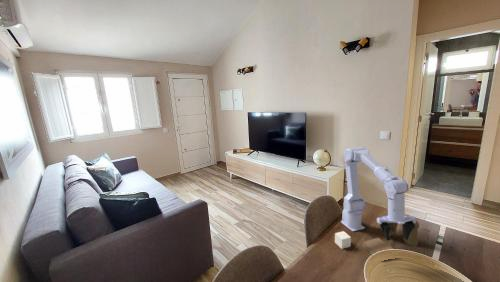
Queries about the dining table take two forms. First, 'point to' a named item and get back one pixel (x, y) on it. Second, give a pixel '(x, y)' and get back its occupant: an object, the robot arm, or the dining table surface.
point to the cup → (392, 228)
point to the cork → (413, 236)
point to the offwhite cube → (342, 239)
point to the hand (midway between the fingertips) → (396, 238)
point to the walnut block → (375, 245)
